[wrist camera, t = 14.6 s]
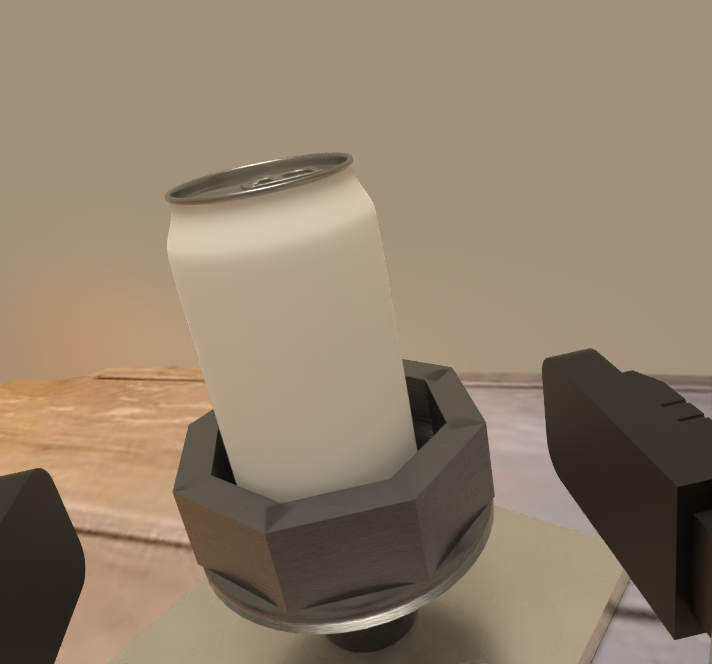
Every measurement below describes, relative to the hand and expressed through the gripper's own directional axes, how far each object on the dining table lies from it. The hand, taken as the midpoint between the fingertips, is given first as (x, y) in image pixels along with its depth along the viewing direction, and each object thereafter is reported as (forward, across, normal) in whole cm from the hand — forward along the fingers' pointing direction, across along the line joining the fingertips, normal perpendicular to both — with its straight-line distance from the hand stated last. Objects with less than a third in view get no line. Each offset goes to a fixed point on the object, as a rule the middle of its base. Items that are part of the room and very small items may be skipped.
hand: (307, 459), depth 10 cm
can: (+11, 0, +9) cm, 14 cm away
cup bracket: (+11, 0, +16) cm, 19 cm away
